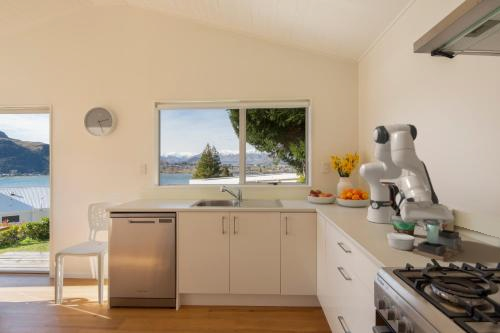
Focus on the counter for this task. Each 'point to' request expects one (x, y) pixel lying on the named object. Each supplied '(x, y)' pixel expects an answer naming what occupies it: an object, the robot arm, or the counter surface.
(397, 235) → the ramekin
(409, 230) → the food container
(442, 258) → the dock station
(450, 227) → the coffee cup
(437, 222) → the teal cylinder
